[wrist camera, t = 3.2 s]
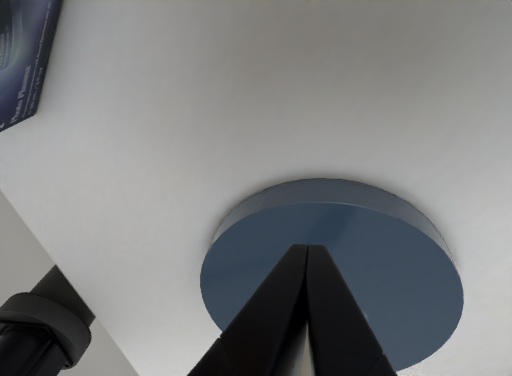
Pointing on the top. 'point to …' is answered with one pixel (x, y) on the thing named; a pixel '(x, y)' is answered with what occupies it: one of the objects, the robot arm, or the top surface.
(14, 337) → the robot arm
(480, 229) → the top surface
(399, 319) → the plate
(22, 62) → the small box
